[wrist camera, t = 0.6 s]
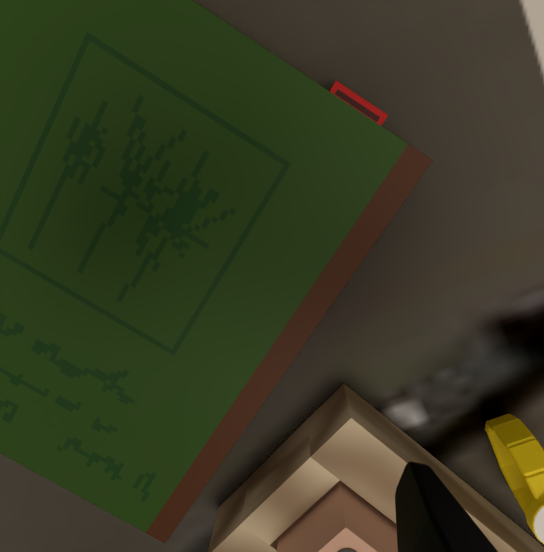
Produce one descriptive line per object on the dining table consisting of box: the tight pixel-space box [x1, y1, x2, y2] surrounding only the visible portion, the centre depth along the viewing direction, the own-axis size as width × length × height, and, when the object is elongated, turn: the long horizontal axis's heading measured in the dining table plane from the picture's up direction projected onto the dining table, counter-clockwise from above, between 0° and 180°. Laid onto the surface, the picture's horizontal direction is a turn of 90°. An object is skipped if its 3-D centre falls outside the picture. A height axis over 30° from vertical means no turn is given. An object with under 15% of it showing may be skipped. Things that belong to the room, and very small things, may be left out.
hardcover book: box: [0, 0, 433, 543], centre depth 22 cm, size 25×19×4 cm
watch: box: [485, 414, 544, 544], centre depth 21 cm, size 6×3×6 cm, turn 24°
